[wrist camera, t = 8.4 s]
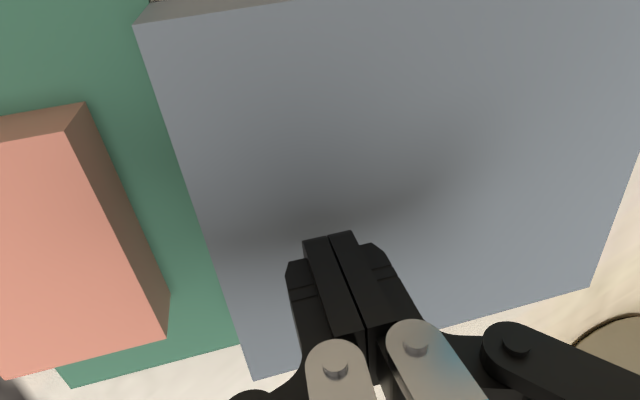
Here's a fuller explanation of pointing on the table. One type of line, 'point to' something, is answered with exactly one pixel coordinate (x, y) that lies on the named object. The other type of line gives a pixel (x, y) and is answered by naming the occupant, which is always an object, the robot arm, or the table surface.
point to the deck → (399, 144)
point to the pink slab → (69, 248)
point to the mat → (119, 158)
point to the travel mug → (616, 343)
